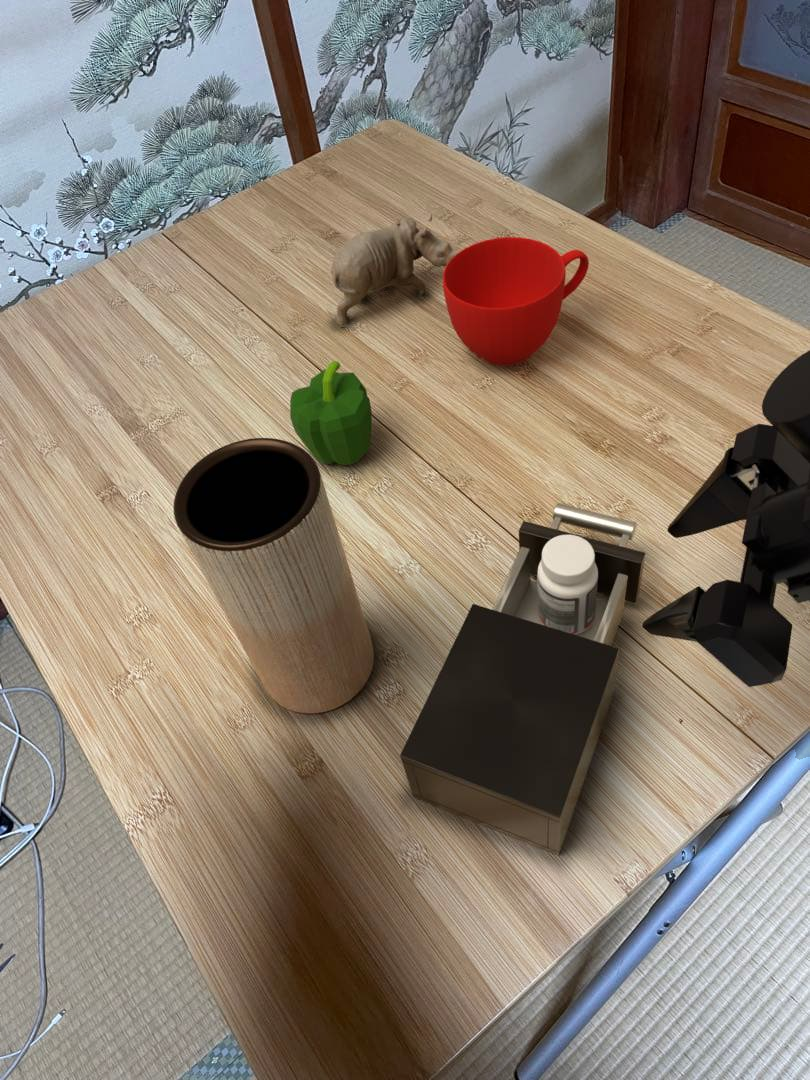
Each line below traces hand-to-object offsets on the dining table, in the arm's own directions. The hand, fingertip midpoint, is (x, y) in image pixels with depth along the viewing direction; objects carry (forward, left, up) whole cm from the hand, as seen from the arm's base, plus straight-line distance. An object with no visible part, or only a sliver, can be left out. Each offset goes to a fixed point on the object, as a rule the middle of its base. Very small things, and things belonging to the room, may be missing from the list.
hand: (659, 578), depth 62 cm
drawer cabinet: (+7, +12, -10) cm, 17 cm away
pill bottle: (+7, +1, -8) cm, 10 cm away
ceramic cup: (+24, -35, -10) cm, 43 cm away
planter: (+26, +11, -10) cm, 30 cm away
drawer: (+7, 0, -9) cm, 11 cm away
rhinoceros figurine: (+42, -39, -10) cm, 58 cm away
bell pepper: (+36, -13, -10) cm, 39 cm away
